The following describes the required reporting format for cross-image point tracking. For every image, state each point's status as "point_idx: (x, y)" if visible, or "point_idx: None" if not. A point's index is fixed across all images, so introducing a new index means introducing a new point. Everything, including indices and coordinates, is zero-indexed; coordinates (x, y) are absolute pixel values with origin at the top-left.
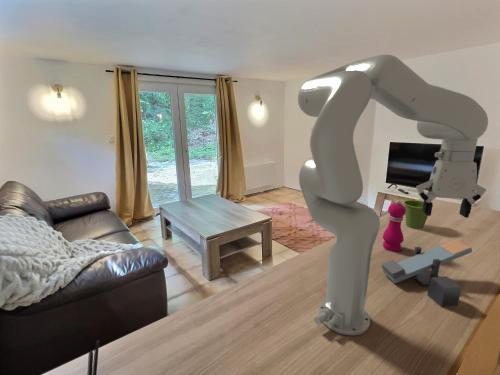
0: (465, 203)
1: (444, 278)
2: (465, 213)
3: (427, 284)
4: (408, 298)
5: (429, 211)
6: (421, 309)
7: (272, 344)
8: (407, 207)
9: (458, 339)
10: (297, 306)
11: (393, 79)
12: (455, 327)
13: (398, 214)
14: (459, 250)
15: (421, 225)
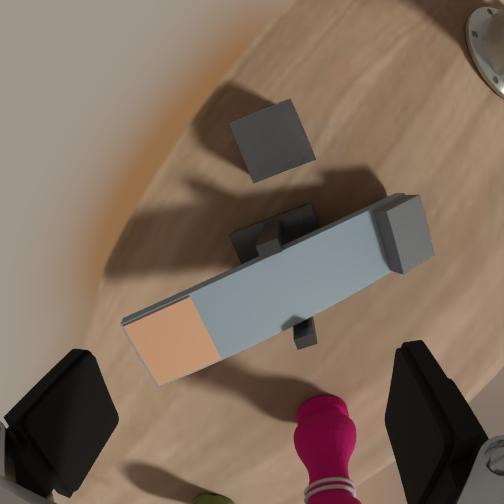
0: (45, 458)
1: (267, 165)
2: (78, 377)
3: (295, 209)
4: (369, 133)
5: (435, 362)
6: (347, 90)
7: None
8: None
9: (291, 8)
10: None
11: None
12: (282, 41)
13: (337, 499)
14: (163, 316)
15: (202, 500)
